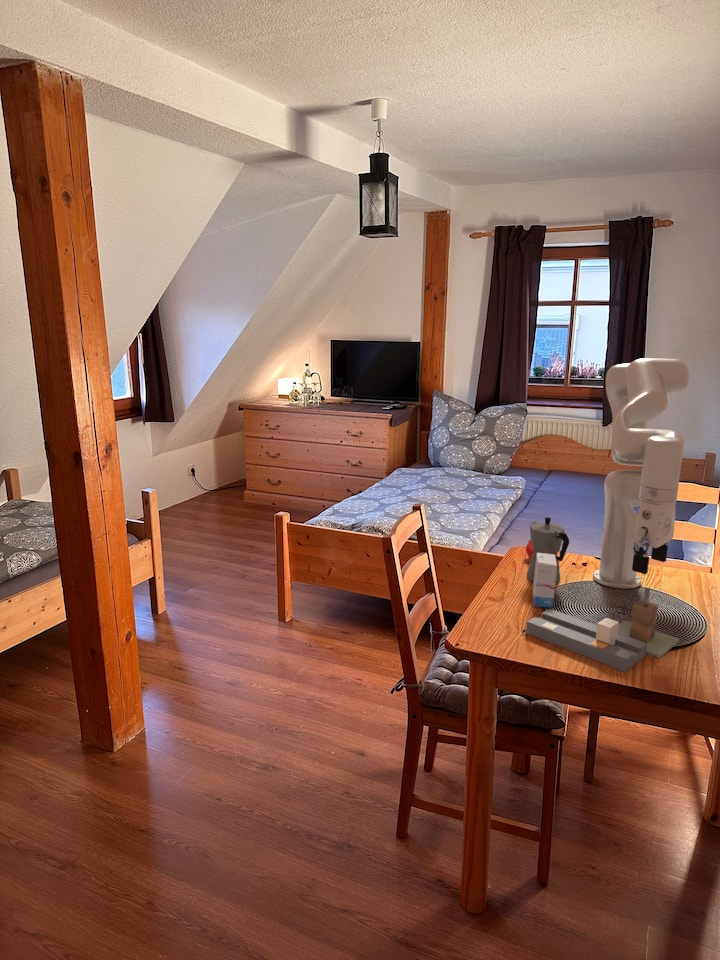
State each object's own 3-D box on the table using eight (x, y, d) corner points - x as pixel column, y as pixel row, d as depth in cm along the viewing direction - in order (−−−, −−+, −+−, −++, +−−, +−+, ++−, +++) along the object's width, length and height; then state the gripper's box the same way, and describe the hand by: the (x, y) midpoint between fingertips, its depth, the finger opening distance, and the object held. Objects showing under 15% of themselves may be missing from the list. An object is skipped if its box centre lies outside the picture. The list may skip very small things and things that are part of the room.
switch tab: (603, 638, 151) (606, 617, 150) (616, 642, 149) (618, 622, 148) (595, 644, 148) (597, 623, 147) (608, 648, 146) (610, 627, 145)
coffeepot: (515, 572, 194) (519, 512, 189) (541, 567, 198) (546, 509, 193) (550, 592, 180) (555, 528, 176) (577, 587, 184) (583, 524, 179)
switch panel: (548, 619, 164) (549, 608, 164) (645, 655, 148) (647, 642, 147) (525, 633, 158) (526, 621, 157) (625, 672, 141) (626, 658, 140)
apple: (558, 545, 200) (538, 530, 205) (543, 554, 197) (523, 538, 202) (553, 562, 205) (533, 546, 210) (537, 570, 201) (518, 554, 206)
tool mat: (624, 622, 163) (624, 620, 163) (679, 641, 154) (679, 639, 154) (602, 637, 156) (603, 635, 155) (659, 658, 146) (659, 655, 146)
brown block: (636, 631, 157) (642, 583, 154) (654, 637, 155) (660, 588, 152) (629, 637, 155) (634, 588, 152) (646, 643, 152) (652, 593, 149)
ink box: (554, 608, 171) (557, 564, 168) (533, 606, 172) (537, 563, 169) (551, 594, 179) (555, 553, 176) (532, 593, 180) (535, 551, 177)
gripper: (658, 505, 138) (649, 582, 142) (691, 488, 149) (681, 560, 154) (623, 497, 143) (615, 572, 148) (657, 482, 155) (649, 551, 159)
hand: (649, 566), depth 151 cm, fingers open, 9 cm apart
